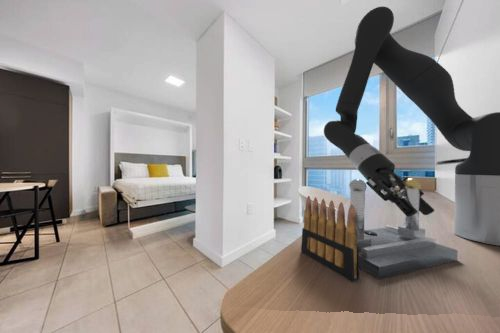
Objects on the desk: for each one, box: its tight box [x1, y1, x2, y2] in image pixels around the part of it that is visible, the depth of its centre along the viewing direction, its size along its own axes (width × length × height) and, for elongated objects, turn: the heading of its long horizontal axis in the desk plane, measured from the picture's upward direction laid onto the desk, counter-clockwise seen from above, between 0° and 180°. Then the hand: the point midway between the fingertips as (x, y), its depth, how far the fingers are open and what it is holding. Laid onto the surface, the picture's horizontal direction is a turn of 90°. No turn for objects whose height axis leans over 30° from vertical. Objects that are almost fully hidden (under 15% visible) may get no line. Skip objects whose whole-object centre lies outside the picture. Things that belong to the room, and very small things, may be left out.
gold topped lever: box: [384, 177, 426, 240], centre depth 41 cm, size 4×7×14 cm, turn 17°
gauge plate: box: [358, 227, 458, 280], centre depth 36 cm, size 22×13×3 cm, turn 107°
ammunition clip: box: [300, 195, 360, 283], centre depth 31 cm, size 11×2×12 cm, turn 30°
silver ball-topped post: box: [348, 178, 371, 251], centre depth 36 cm, size 4×7×14 cm, turn 17°
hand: (421, 213), depth 37 cm, fingers open, 5 cm apart
